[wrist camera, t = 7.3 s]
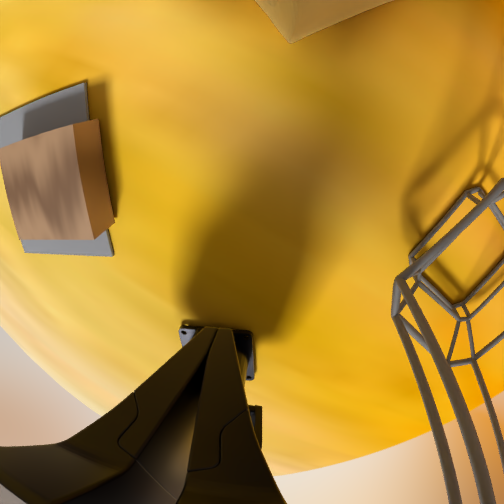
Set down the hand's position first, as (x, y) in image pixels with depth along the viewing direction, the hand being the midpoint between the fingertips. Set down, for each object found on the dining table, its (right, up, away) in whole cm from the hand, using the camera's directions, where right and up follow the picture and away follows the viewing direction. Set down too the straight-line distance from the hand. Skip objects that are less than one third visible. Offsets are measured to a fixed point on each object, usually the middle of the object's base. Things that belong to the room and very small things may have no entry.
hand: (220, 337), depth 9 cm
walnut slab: (-10, +8, +9) cm, 15 cm away
